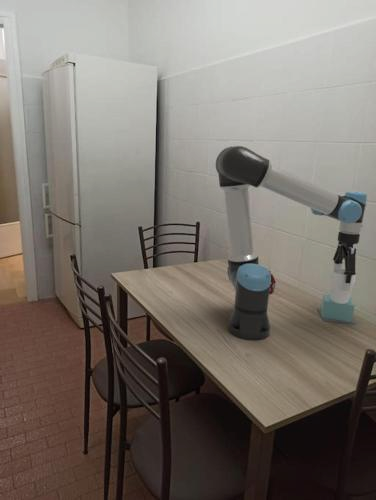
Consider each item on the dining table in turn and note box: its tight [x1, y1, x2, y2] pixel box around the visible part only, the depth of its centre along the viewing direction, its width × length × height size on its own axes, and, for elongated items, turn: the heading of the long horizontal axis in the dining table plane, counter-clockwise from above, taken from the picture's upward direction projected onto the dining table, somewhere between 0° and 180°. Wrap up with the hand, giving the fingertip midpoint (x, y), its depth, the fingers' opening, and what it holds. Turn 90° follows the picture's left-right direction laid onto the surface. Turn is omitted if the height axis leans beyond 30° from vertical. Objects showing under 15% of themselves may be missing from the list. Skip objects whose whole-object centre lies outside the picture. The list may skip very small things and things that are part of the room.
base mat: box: [316, 307, 357, 325], centre depth 147 cm, size 12×12×1 cm
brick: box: [320, 292, 355, 322], centre depth 146 cm, size 9×11×7 cm
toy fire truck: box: [268, 269, 277, 295], centre depth 170 cm, size 7×12×10 cm, turn 96°
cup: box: [330, 268, 357, 304], centre depth 142 cm, size 9×9×12 cm
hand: (340, 284), depth 144 cm, fingers open, 13 cm apart
